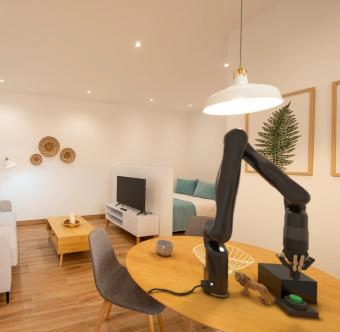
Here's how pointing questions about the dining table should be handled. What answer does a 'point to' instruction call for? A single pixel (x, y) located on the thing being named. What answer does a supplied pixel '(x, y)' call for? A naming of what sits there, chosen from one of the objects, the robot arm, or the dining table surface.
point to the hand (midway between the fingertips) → (294, 279)
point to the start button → (296, 299)
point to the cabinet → (286, 282)
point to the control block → (296, 308)
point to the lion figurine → (252, 286)
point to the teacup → (164, 247)
